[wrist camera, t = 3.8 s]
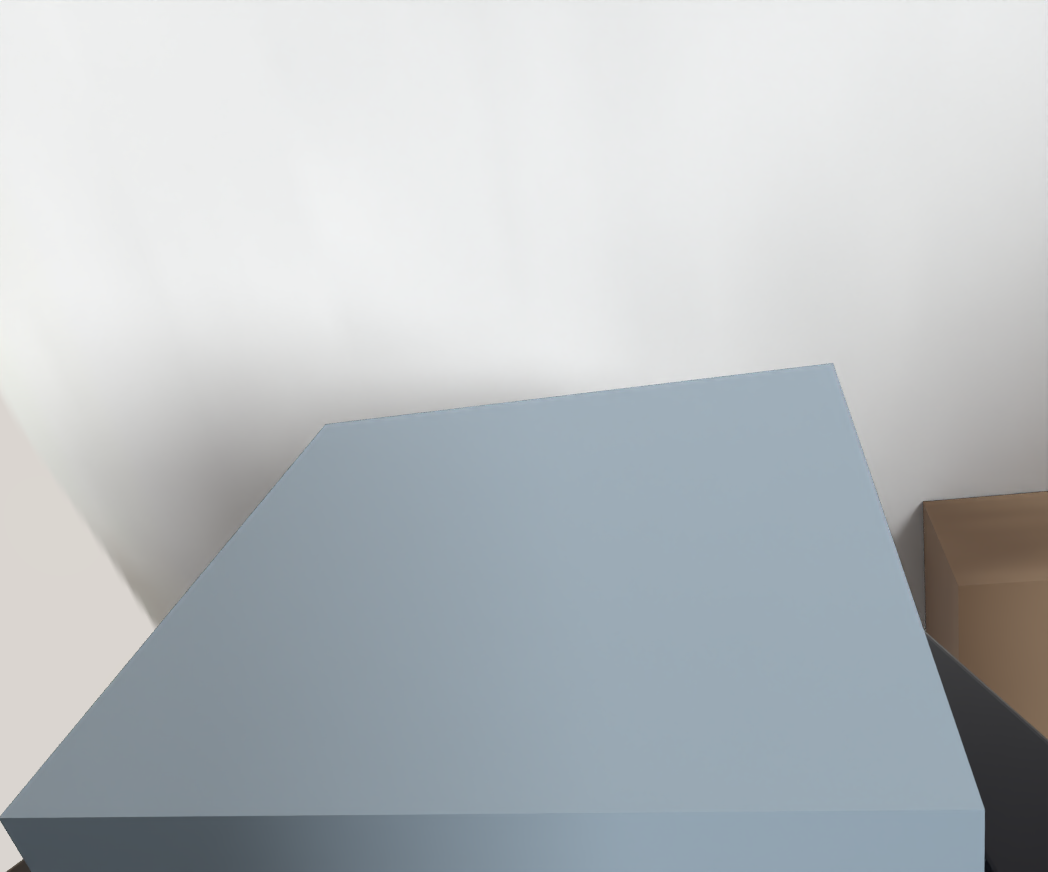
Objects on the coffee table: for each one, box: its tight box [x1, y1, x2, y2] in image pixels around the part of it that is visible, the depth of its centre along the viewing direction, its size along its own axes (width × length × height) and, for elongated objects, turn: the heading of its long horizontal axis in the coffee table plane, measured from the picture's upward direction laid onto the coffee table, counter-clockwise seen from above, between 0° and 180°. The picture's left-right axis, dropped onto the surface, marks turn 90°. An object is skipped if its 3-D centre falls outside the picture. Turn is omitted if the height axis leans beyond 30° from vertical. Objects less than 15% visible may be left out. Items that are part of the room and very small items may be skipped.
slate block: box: [0, 363, 985, 872], centre depth 8 cm, size 5×5×5 cm
